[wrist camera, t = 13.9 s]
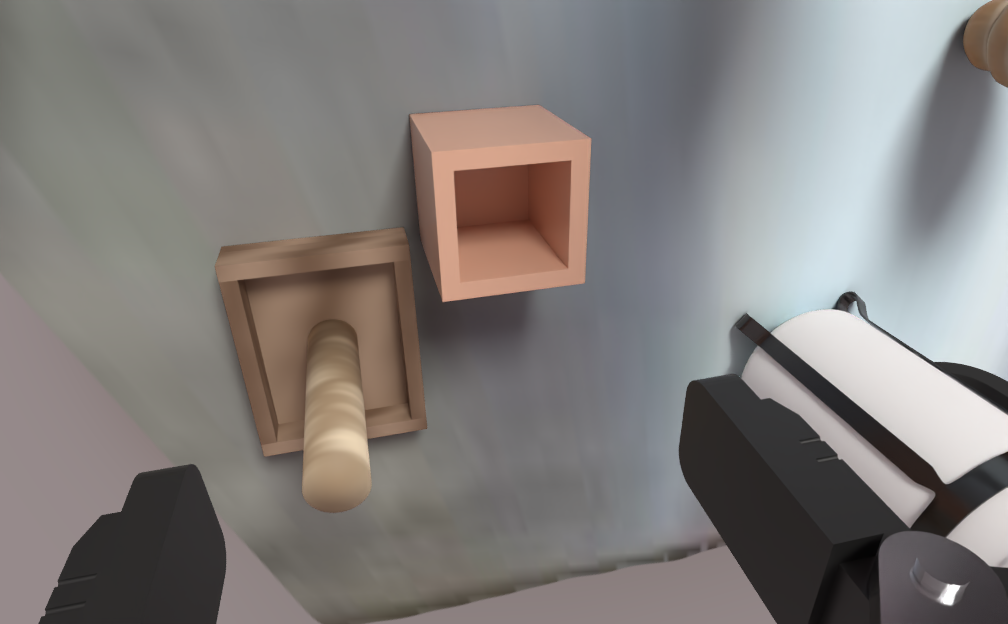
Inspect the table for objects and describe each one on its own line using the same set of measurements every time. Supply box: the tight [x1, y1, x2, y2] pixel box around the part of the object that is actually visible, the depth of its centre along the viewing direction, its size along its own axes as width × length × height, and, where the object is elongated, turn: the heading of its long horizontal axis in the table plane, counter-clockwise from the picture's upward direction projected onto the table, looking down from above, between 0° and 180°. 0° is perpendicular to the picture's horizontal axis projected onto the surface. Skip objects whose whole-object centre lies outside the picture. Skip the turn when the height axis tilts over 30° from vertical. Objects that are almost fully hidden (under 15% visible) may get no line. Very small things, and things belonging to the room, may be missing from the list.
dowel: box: [302, 319, 371, 513], centre depth 37 cm, size 3×3×14 cm
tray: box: [215, 227, 427, 457], centre depth 42 cm, size 11×14×3 cm
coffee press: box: [735, 292, 1008, 568], centre depth 42 cm, size 17×16×30 cm
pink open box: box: [409, 105, 591, 302], centre depth 37 cm, size 8×8×9 cm
